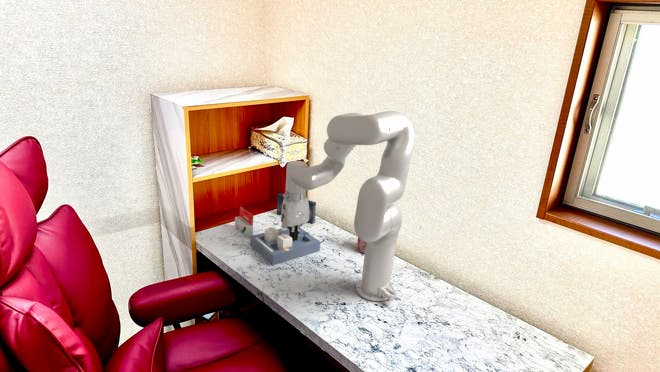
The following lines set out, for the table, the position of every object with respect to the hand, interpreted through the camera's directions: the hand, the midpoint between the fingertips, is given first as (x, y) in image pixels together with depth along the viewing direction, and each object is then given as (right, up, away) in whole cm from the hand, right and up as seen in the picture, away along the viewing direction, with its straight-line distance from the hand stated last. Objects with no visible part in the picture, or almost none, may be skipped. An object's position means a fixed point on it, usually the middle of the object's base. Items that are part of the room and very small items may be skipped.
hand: (293, 239), depth 163 cm
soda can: (+28, -5, +7) cm, 29 cm away
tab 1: (-9, -1, +3) cm, 9 cm away
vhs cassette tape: (-2, +5, +29) cm, 30 cm away
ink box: (-21, +1, +13) cm, 25 cm away
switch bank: (-4, -4, +3) cm, 6 cm away
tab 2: (-3, -3, -1) cm, 5 cm away
